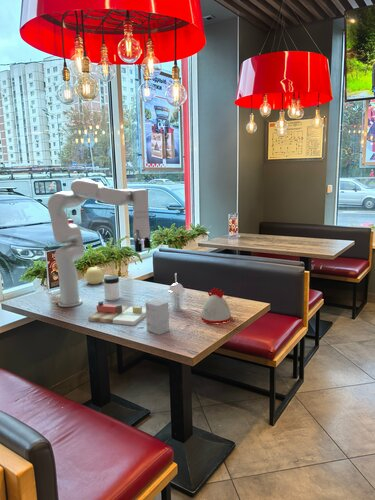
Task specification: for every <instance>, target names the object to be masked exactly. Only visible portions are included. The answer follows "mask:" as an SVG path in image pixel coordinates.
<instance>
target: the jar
mask: <svg viewBox="0 0 375 500" xmlns="http://www.w3.org/2000/svg"><path fill="white" fill-rule="evenodd" d="M103 287H104V288H103V289H104V300H105V301H106V300H107V301H115V300H119V299H120V298H121V289H120V288H121V287H120V279H119V276H118V275H107V276H104V279H103Z"/></svg>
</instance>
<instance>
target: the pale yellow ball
mask: <svg viewBox="0 0 375 500" xmlns="http://www.w3.org/2000/svg"><path fill="white" fill-rule="evenodd" d="M105 276H106V275H105V268H103V267H99V266H97V265H95V266H92V267H91V266H90V267H89V268H87V271H86V272H85V280H86V282H87V283H88V284H89V285H96V284H100V283H103V282H104V277H105Z"/></svg>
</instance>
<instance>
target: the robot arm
mask: <svg viewBox="0 0 375 500" xmlns="http://www.w3.org/2000/svg"><path fill="white" fill-rule="evenodd" d="M88 199H92V200H95V201H99V202H101V203H104V204H108V205H112V206H113V205H114V206H118V207H119V206H126V205H132V214H133V215H132V217H133V220H132V221H133V222H132V238H133V242H134V248H135V252H136V253H142V252H143V250H142V248H144V249H151V229H150V228H151V227H150V226H151V225H150V220H149V218H150V211H149V209H150V207H149V193H148V190H147V189H146V188H138V189H133V188H123V189H122V188H121V189H117V188H110V187H107V186H105V185H104V183H103V182H97V181H94V180H92V179H90V178H80V179H79V178H78V179H75V180H73V181H72V182H71V183H70V191H69V190H67V191H66V190H65V191H59V192H56V193H53V194H52V195H50V197H49V199H48V200H47V210H48V215H49V217H50V218H49V219H50V223H51V228H52V234H53V238H54V240H55V242H56V243H57V244H60V245H61V244H63V246H60V247H58V248H57V249H56V251H55V252H54V260H55V263H56V267H57V274H58V275H57V276H58V283H59V294H56V296H55V297H54V299H55V300H58V302H57V305H58V306H59V307H61V308H62V307H63V308H70V307H77V306H80V305H81V304H82V303H83V299H82V298H80V291H79V281H78V271H77V268H76V265H75V263H74V262H77V261H80V260H81V259H82V258H83V257H84V255H85V247H84V241H83V236H82V235H83V234H82V231H81V229H80V227H79V226H78V225H76V224H74V223H70V222H69V218H68V213H66V211H65V209H71V208H76V207H78V206H81V204H83V203H84V202H86V201H87V200H88ZM142 240H143V243H142ZM65 244H67V245H65ZM142 245H143V247H142Z"/></svg>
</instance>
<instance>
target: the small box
mask: <svg viewBox="0 0 375 500" xmlns="http://www.w3.org/2000/svg"><path fill="white" fill-rule="evenodd" d="M145 308H146V316H145V317H146V320H145V321H146V331H147V332H151V333H153V334H155V335H159V336H160V335H162V334H165V333H166V332H167V333H168V332H169V331H170V317H169V316H170V315H169V302H168V301H164V300H160V299H157V298H155V299H151V300H149V301H146V302H145Z"/></svg>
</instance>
